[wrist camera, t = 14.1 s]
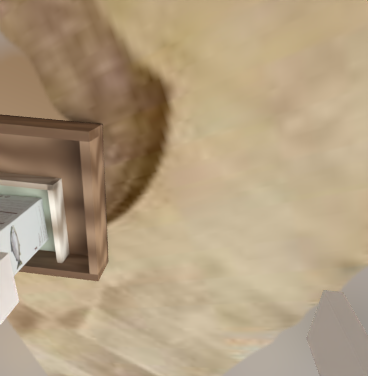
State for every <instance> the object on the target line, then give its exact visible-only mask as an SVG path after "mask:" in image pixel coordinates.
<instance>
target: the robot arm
mask: <svg viewBox="0 0 368 376" xmlns="http://www.w3.org/2000/svg"><path fill="white" fill-rule="evenodd" d="M18 302H19V298H18V294H17V289H16V284H15V280H14V275H13V270H12V266H11V261H10V256H9V253H6V252H0V324H1V323H2V322H3V321H4V320H5V318H6V317H7V316H8V315H9V313H10V312H11V311H12V310H13V308H14V307H15V306H16V305H17V304H18ZM307 341H308V344H309V346H310V349H311V352H312V355H313V358H314V361H315V364H316V367H317V369H318V372H319V375H320V376H368V335H367V333H366V331H365V329H364V328H363V326H362V325H361V323H360V321H359V319H358V317H357V316H356V314H355V312H354V311H353V309H352V307H351V305H350V304H349V302H348V300H347V298H346V297H345V295H344V293H343V292H335V291H327V290H323V293H322V296H321V299H320V302H319V304H318V307H317V310H316V313H315V316H314V318H313V321H312V324H311V327H310V330H309V332H308V335H307Z"/></svg>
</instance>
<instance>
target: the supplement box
mask: <svg viewBox="0 0 368 376" xmlns="http://www.w3.org/2000/svg"><path fill="white" fill-rule="evenodd" d="M48 239H49V238H48V234H47V229H46V223H45V217H44V210H43V201H42V198H36V197H26V196H15V195H3V194H0V252H6V253H9V256H10V261H11V266H12V270H13V275H15V274H16V273H17V272H18V271H19V270H20V269H21V268H22V267H23V266H24V265H25V264H26V263H27V262H28V261H29V260H30V259H31V257H32V256H33V255H34V254H35V253H36V252H37V251H38V250H39V249H40V248H41V247H42V246H43V245H44V244H45V243H46V242H47V241H48Z"/></svg>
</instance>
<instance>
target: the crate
mask: <svg viewBox="0 0 368 376" xmlns="http://www.w3.org/2000/svg"><path fill="white" fill-rule="evenodd" d="M0 194H3V195H15V196H26V197H36V198H42V201H43V210H44V217H45V223H46V229H47V234H48V238H49V239H48V241H47V242H46V243H45V244H44V245H43V246H42V247H41V248H40V249H39V250H38V251H37V252H36V253H35V254H34V255H33V256H32V257H31V259H30V260H29V261H28V262H27V263H26V264H25V265H24V266H23V267H22V268H21V269H20V270H19V272H27V273H35V274H43V275H52V276H60V277H68V278H76V279H85V280H93V281H99V279H100V277H101V275H102V273H103V271H104V269H105V267H106V265H107V263H108V242H107V218H106V194H105V171H104V147H103V124H95V123H84V122H74V121H63V120H52V119H42V118H31V117H19V116H10V115H0Z"/></svg>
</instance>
